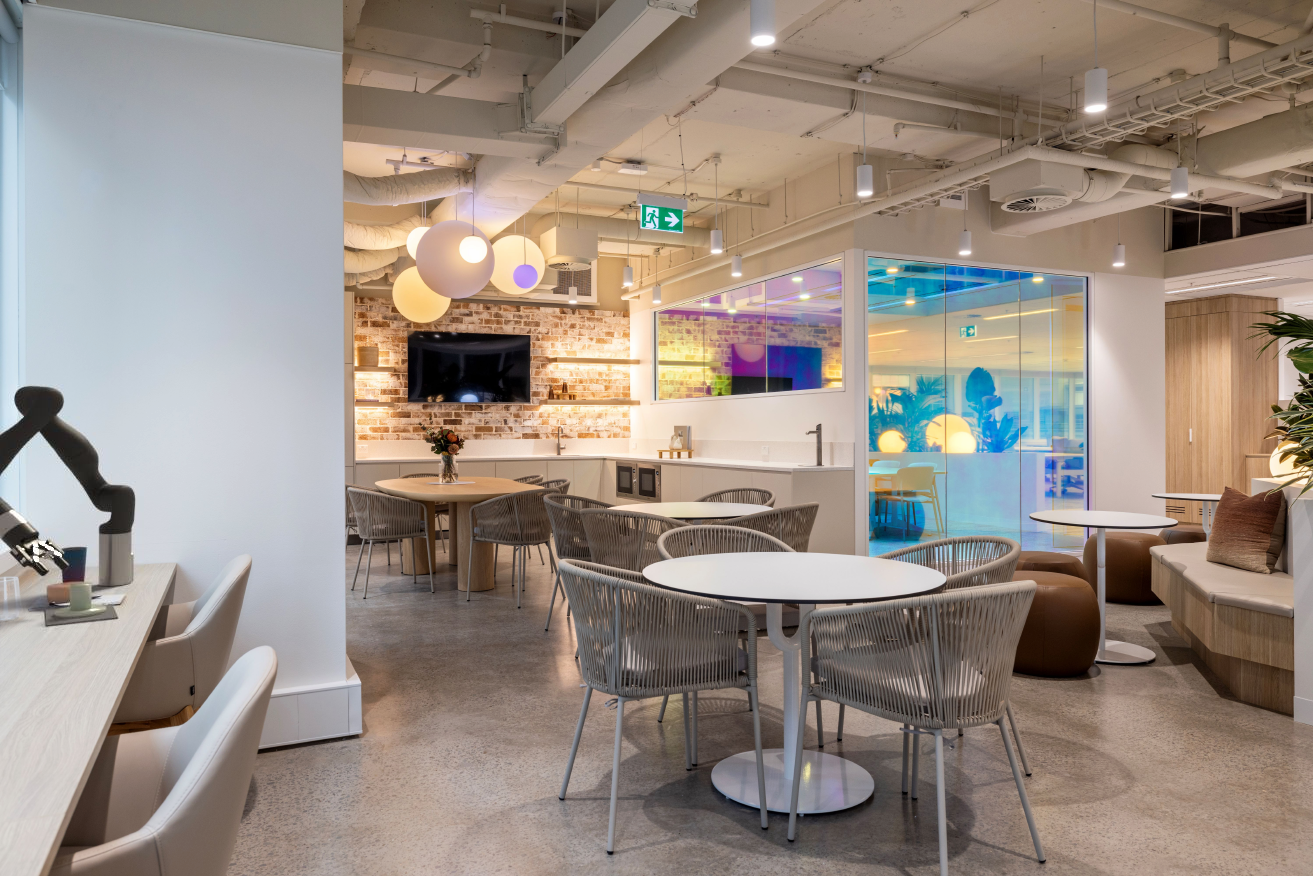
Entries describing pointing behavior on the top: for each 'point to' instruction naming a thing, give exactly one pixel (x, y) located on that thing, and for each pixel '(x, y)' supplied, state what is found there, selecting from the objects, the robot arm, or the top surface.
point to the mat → (54, 620)
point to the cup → (74, 564)
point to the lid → (80, 603)
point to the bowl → (61, 592)
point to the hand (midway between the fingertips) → (56, 571)
